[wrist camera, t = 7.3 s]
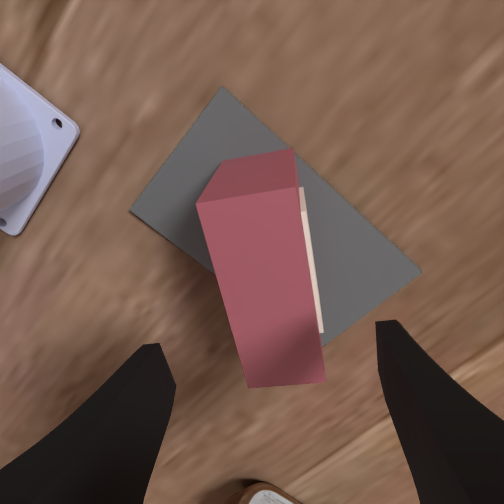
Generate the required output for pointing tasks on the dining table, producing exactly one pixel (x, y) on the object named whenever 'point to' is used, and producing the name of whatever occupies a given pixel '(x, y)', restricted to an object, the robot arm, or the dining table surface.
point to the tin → (261, 495)
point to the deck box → (265, 267)
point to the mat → (317, 204)
